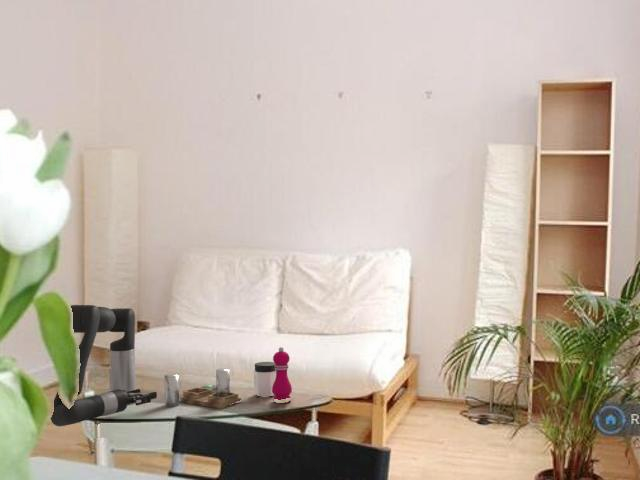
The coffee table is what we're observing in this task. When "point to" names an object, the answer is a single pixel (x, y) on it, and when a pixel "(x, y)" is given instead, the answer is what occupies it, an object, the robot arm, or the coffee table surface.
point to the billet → (171, 390)
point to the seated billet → (223, 382)
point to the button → (208, 386)
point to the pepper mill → (281, 376)
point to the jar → (264, 378)
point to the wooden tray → (208, 398)
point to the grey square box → (211, 388)
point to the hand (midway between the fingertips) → (147, 393)
